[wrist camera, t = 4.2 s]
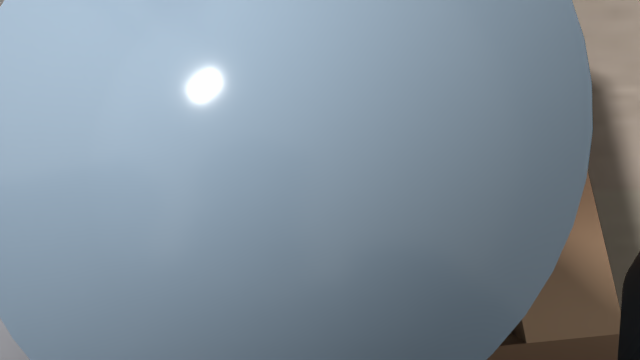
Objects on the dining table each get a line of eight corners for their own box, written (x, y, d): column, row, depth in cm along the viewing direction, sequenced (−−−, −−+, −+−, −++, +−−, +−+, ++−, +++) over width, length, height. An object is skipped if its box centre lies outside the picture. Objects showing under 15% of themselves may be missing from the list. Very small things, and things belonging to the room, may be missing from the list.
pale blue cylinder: (480, 309, 16) (680, 429, 3) (315, 328, 16) (-48, 480, 4) (450, 147, 17) (513, -254, 4) (297, 172, 18) (-36, -96, 5)
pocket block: (613, 409, 14) (649, 435, 12) (232, 439, 16) (197, 467, 14) (530, 39, 17) (547, -1, 14) (205, 104, 19) (172, 77, 16)
